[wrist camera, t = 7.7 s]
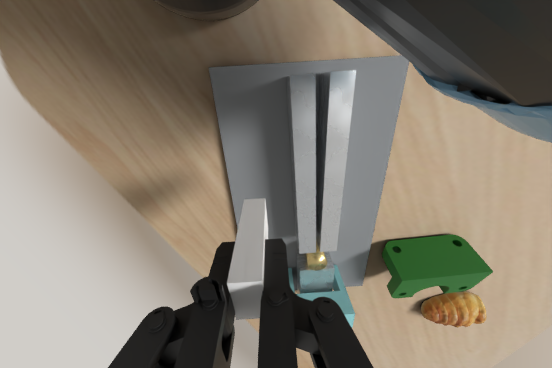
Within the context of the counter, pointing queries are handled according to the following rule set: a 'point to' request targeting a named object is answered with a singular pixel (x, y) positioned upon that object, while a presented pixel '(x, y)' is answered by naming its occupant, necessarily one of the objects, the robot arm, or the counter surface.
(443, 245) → the clamp
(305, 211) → the arm
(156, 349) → the robot arm
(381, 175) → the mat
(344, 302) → the collar
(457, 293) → the pastry
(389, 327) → the counter surface
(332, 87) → the tongs body
